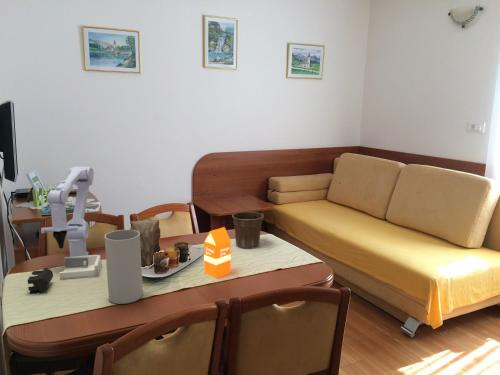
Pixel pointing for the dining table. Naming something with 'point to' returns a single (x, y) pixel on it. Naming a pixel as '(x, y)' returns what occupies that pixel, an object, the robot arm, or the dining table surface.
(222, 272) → the orange juice
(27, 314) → the dining table surface
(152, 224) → the brown rough block
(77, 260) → the side door
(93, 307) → the dining table surface
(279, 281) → the dining table surface
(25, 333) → the dining table surface
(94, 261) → the white open tray
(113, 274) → the cylinder vase
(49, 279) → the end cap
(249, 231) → the plant pot
